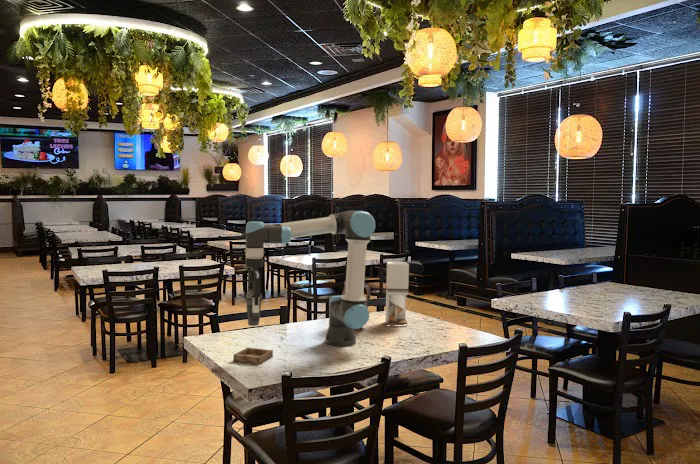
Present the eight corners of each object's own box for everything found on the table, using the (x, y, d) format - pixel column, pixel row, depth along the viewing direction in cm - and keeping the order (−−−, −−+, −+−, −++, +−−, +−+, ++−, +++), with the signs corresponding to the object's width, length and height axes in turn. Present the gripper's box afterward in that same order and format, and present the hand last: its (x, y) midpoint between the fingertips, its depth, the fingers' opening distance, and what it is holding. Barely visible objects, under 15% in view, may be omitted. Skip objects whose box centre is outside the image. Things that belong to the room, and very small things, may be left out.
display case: (386, 326, 302) (388, 263, 300) (385, 322, 312) (386, 261, 310) (407, 326, 302) (408, 264, 300) (405, 322, 312) (406, 262, 310)
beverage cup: (245, 322, 236) (246, 277, 235) (262, 322, 237) (263, 277, 236) (244, 326, 229) (244, 279, 228) (261, 326, 230) (262, 279, 229)
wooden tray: (272, 357, 238) (272, 350, 238) (259, 364, 226) (259, 357, 226) (247, 354, 242) (247, 347, 242) (233, 361, 230) (233, 354, 230)
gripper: (241, 255, 239) (240, 306, 241) (250, 260, 221) (250, 315, 222) (257, 255, 242) (257, 305, 244) (268, 260, 224) (268, 314, 225)
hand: (253, 310), depth 233 cm, fingers closed on beverage cup, 7 cm apart
